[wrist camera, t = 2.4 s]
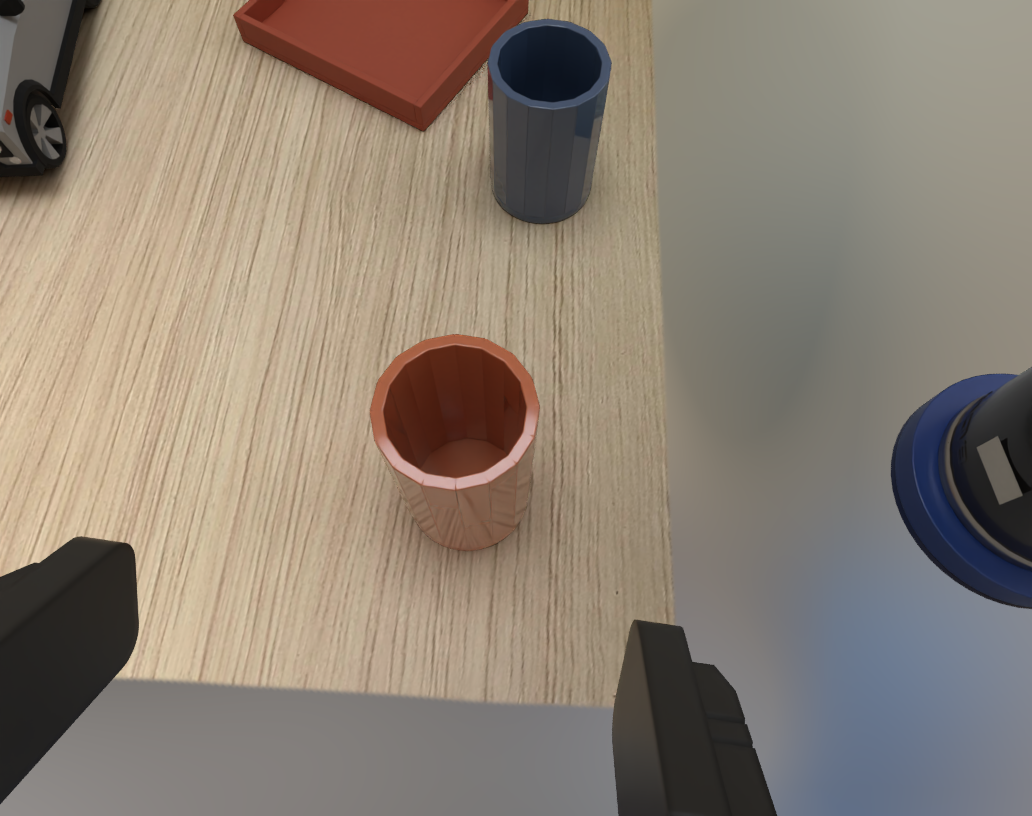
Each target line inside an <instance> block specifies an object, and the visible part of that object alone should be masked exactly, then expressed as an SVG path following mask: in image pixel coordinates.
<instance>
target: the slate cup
mask: <svg viewBox="0 0 1032 816" xmlns="http://www.w3.org/2000/svg"><path fill="white" fill-rule="evenodd" d="M611 64H612V63H611V59H610V57H609V54H608V52H607V49H606V47H605V45H604V44H603V43H602V42H601V41H600V40H599V39H598V38H597V37H596V36H595V35H594V34H593V33H592V32H591V31H589V30H587V29H585V28H583V27H581V26H578V25H576V24H574V23H572V22H568V21H561V20H553V19H541V20H535V21H528V22H524V23H521V24H519V25H517V26H515V27H513V28H511V29H509V30H507V31H505V32H504V33H503V34H502V35H501V36H500V38H499V39H498V40H497V41H496V42H495V43H494V44H493V46H492V47H491V51H490V55H489V60H488V101H489V141H490V178H491V186H492V191H493V194H494V197H495V198H496V200H497V202H498V203H499V204H500V206H501V207H502V208H503V209H504V210H505V211H507V212H508V213H509V214H511V215H512V216H514V217H516V218H518V219H520V220H523V221H527V222H531V223H539V224H544V223H554V222H558V221H561V220H564V219H566V218H568V217H570V216H572V215H573V214H575V213H576V212H577V211H578V210H580V209H581V208H582V206H583V205H584V204H585V202H586V201H587V199H588V196H589V193H590V190H591V184H592V178H593V172H594V166H595V160H596V155H597V149H598V143H599V137H600V131H601V125H602V119H603V113H604V108H605V102H606V96H607V90H608V84H609V78H610V71H611Z"/></svg>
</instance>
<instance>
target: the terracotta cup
mask: <svg viewBox="0 0 1032 816" xmlns="http://www.w3.org/2000/svg"><path fill="white" fill-rule="evenodd" d="M539 411H540V405H539V401H538V397H537V393H536V390H535V386H534V382H533V379H532V377H531V375H530V374H529V373H528V372H527V370H526V369H525V368H524V367H523V365H522V364H521V363H520V362H519V361H518V359H517V358H516V357H515V356H514V355H513V354H512V353H511V352H509V351H507V350H505V349H504V348H502V347H500V346H498V345H496V344H495V343H493V342H491V341H489V340H487V339H485V338H479V337H472V336H465V335H459V334H455V335H454V334H452V335H447V336H442V337H437V338H432V339H427V340H424V341H421V342H420V343H418V344H416V345H415V346H413V347H411V348H410V349H408V350H407V351H405V352H403V353H402V354H400V355H398V356H397V357H396V358H395V359H394V360H393V362H392V363H391V364H390V366H389V367H388V368H387V369H386V371H385V372H384V373H383V375H382V376H381V377H380V379H379V380H378V382H377V385H376V388H375V392H374V396H373V400H372V404H371V408H370V418H371V423H372V429H373V435H374V441H375V443H376V445H377V447H378V449H379V451H380V453H381V455H382V457H383V459H384V462H385V464H386V466H387V468H388V470H389V472H390V474H391V476H392V478H393V480H394V482H395V484H396V486H397V488H398V490H399V492H400V494H401V496H402V498H403V500H404V502H405V504H406V506H407V508H408V510H409V512H410V514H411V515H412V517H413V518H414V520H415V522H416V523H417V525H418V526H419V528H420V529H421V530H422V531H423V532H424V533H425V534H426V535H427V536H428V537H429V538H430V539H432V540H433V541H434V542H436V543H438V544H440V545H442V546H445V547H447V548H451V549H455V550H462V551H473V550H479V549H484V548H487V547H490V546H492V545H494V544H496V543H498V542H500V541H501V540H503V539H504V538H506V537H507V536H508V535H509V534H510V533H511V532H512V531H513V530H514V529H515V528H516V527H517V525H518V524H519V522H520V521H521V519H522V517H523V515H524V513H525V510H526V508H527V503H528V497H529V490H530V484H531V476H532V467H533V459H534V451H535V443H536V435H537V427H538V419H539Z"/></svg>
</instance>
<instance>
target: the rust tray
mask: <svg viewBox="0 0 1032 816" xmlns="http://www.w3.org/2000/svg"><path fill="white" fill-rule="evenodd" d="M528 1H529V0H249V1H248V2H247V3H246V4H245V5H244V6H243V7H241V8H240V9H239V10H238V11H237V12H236V13H235V14H234V15H233V16H234V19H235V21H236V24H237V26H238V29H239V31H240V34H241V36H242V39H243V41H245V42H247V43H249V44H251V45H253V46H255V47H257V48H259V49H261V50H263V51H265V52H267V53H268V54H270V55H272V56H274V57H276V58H278V59H280V60H282V61H284V62H286V63H288V64H290V65H292V66H294V67H296V68H298V69H300V70H302V71H304V72H306V73H308V74H310V75H312V76H314V77H316V78H318V79H320V80H322V81H324V82H326V83H328V84H330V85H332V86H334V87H336V88H338V89H340V90H342V91H344V92H346V93H348V94H350V95H352V96H354V97H356V98H358V99H360V100H362V101H364V102H366V103H368V104H370V105H372V106H374V107H376V108H378V109H380V110H382V111H384V112H386V113H388V114H390V115H392V116H394V117H396V118H398V119H400V120H402V121H404V122H406V123H408V124H410V125H412V126H414V127H416V128H418V129H420V130H422V131H425V130H426V128H427V127H428V126H429V125H430V124H431V123H432V122H433V120H434V119H435V118H436V117H437V116H438V115H439V114H440V112H441V111H442V110H443V109H444V108H445V107H446V106H447V104H448V103H449V102H450V101H451V100H452V99H453V98H454V96H455V95H456V94H457V93H458V92H459V91H460V90H461V88H462V87H463V86H464V85H465V84H466V83H467V82H468V80H469V79H470V78H471V77H472V76H473V75H474V74H475V72H476V71H477V70H478V69H479V68H480V67H481V66H482V64H483V63H484V62H485V61H486V60H487V59H488V58H489V55H490V51H491V47H492V46H493V44H494V43H495V42H496V41H497V40H498V39H499V38H500V36H501V35H502V34H503V33H504V32H505V31H507V30H509V29H511V28H513V27H515V26H517V24H518V23H519V22H520V21H521V20H522V19H523V18H524V16H525V15H526V14H527V13H528Z"/></svg>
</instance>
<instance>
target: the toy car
mask: <svg viewBox="0 0 1032 816" xmlns="http://www.w3.org/2000/svg"><path fill="white" fill-rule="evenodd" d="M99 3H100V0H0V177H12V176H35V175H43V172H44V169H48V168H57V167H59V166H60V165H61V164H62V162H63V160H64V158H65V154H66V138H65V133H64V129H63V126H62V123H61V121H60V119H59V117H58V115H57V113H56V111H55V110H54V108H53V107H52V106H51V105H53V106H54V107H55V108H61V104H62V100H63V96H64V92H65V87H66V83H67V79H68V75H69V71H70V66H71V62H72V58H73V54H74V50H75V46H76V41H77V37H78V33H79V29H80V25H81V20H82V16H83V12H84V8H96V7H97V6H98V4H99Z"/></svg>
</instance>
